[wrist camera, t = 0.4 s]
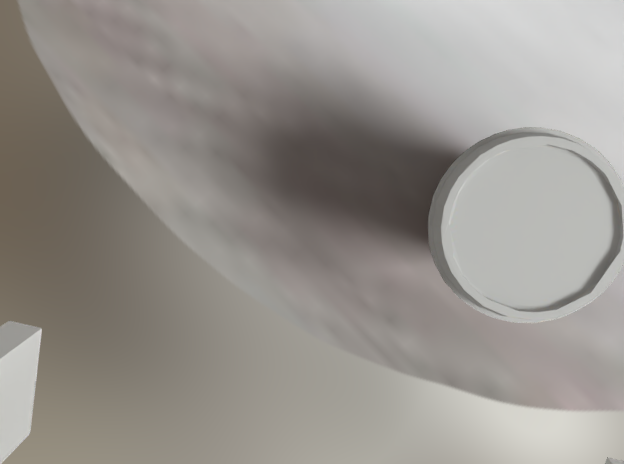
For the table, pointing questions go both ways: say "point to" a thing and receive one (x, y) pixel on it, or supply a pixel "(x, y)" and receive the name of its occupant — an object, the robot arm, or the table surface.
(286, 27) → the table surface
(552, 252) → the disposable coffee cup
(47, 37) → the table surface
